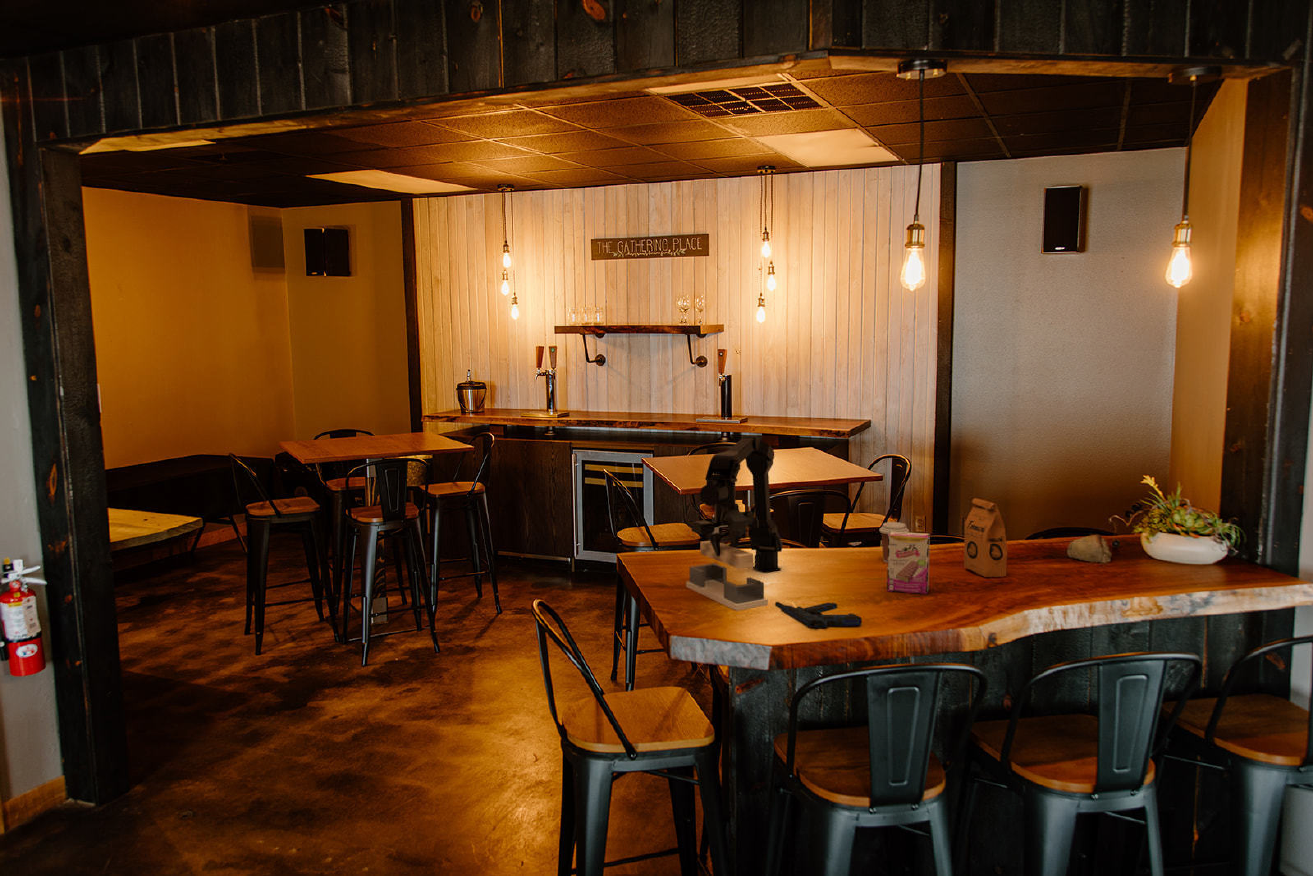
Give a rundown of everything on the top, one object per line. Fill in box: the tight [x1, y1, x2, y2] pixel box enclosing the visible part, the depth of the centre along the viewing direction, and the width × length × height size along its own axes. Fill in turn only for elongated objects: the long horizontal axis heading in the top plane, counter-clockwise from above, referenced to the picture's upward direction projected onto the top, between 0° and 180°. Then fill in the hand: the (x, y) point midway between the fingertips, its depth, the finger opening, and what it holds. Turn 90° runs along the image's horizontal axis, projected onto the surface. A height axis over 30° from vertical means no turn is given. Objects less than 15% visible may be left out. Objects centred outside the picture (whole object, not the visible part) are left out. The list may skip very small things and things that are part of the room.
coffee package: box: [963, 497, 1008, 578], centre depth 262 cm, size 10×12×22 cm
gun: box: [774, 601, 863, 630], centre depth 226 cm, size 24×3×15 cm
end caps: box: [689, 562, 765, 604], centre depth 244 cm, size 25×9×4 cm, turn 28°
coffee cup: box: [878, 521, 910, 564], centre depth 278 cm, size 9×9×12 cm
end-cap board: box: [685, 580, 769, 612], centre depth 245 cm, size 26×10×2 cm, turn 28°
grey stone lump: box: [1066, 534, 1112, 564], centre depth 278 cm, size 14×12×8 cm
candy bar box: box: [886, 531, 931, 595], centre depth 245 cm, size 11×5×16 cm, turn 71°
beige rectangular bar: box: [699, 540, 754, 570], centre depth 243 cm, size 20×4×4 cm, turn 28°
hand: (725, 555), depth 243 cm, fingers closed on beige rectangular bar, 4 cm apart
